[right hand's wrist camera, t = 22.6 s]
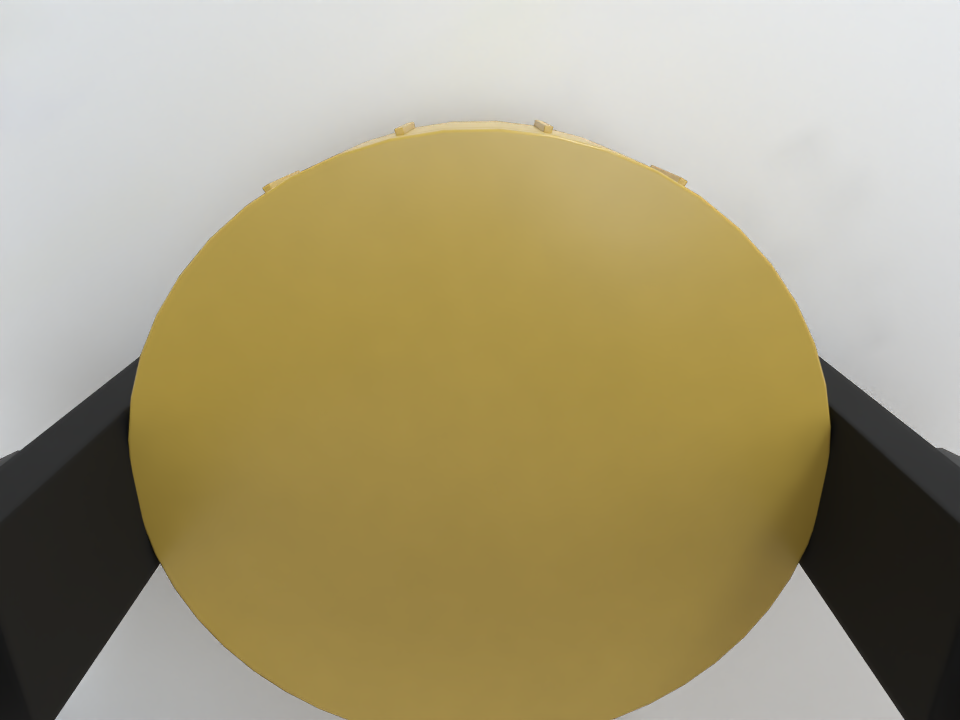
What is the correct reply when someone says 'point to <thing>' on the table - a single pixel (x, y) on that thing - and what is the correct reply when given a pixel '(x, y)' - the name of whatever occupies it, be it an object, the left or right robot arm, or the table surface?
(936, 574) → the right robot arm
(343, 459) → the lid
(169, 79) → the table surface
